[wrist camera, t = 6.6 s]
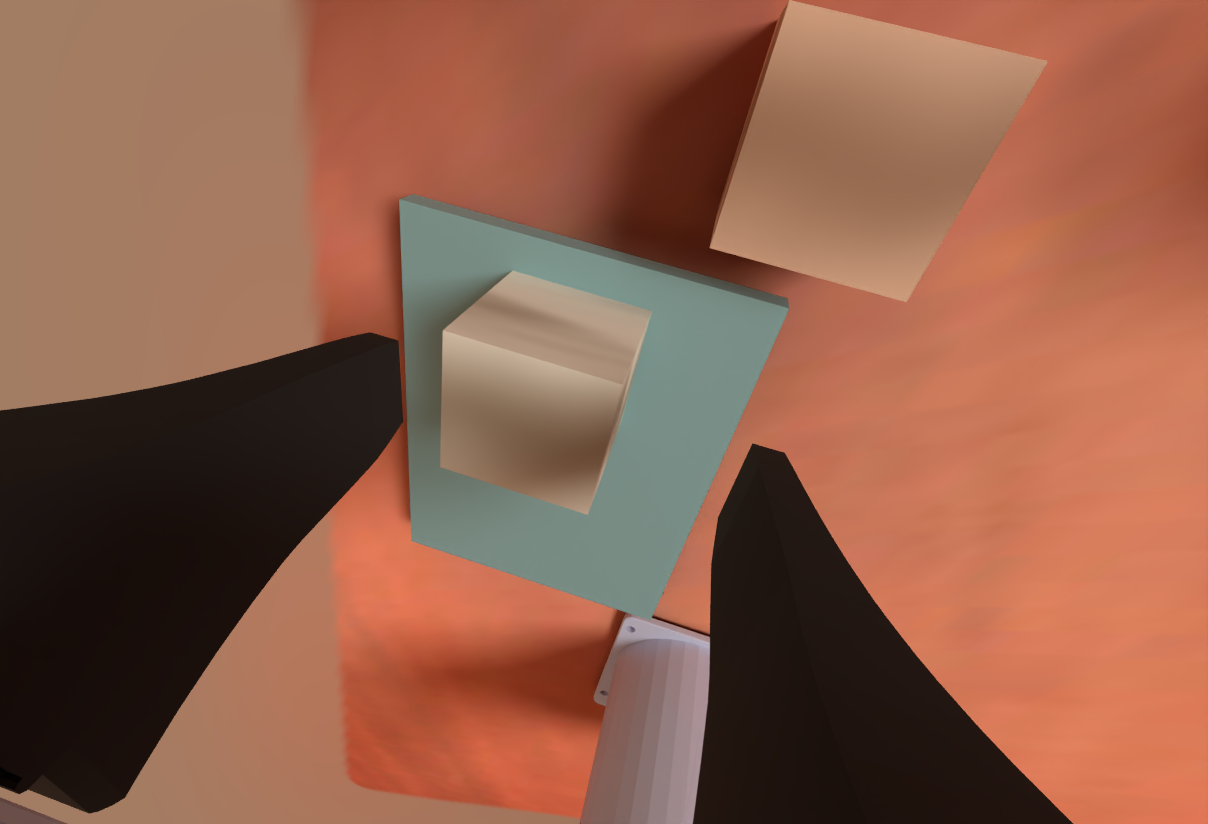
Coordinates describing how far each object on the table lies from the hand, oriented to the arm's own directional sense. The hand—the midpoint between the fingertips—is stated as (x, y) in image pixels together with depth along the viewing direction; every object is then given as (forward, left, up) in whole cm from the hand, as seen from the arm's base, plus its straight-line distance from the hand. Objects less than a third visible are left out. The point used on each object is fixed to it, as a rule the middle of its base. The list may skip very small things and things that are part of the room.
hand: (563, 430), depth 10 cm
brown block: (+5, -4, -9) cm, 11 cm away
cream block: (-2, +1, -7) cm, 7 cm away
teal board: (-7, +1, -9) cm, 11 cm away
